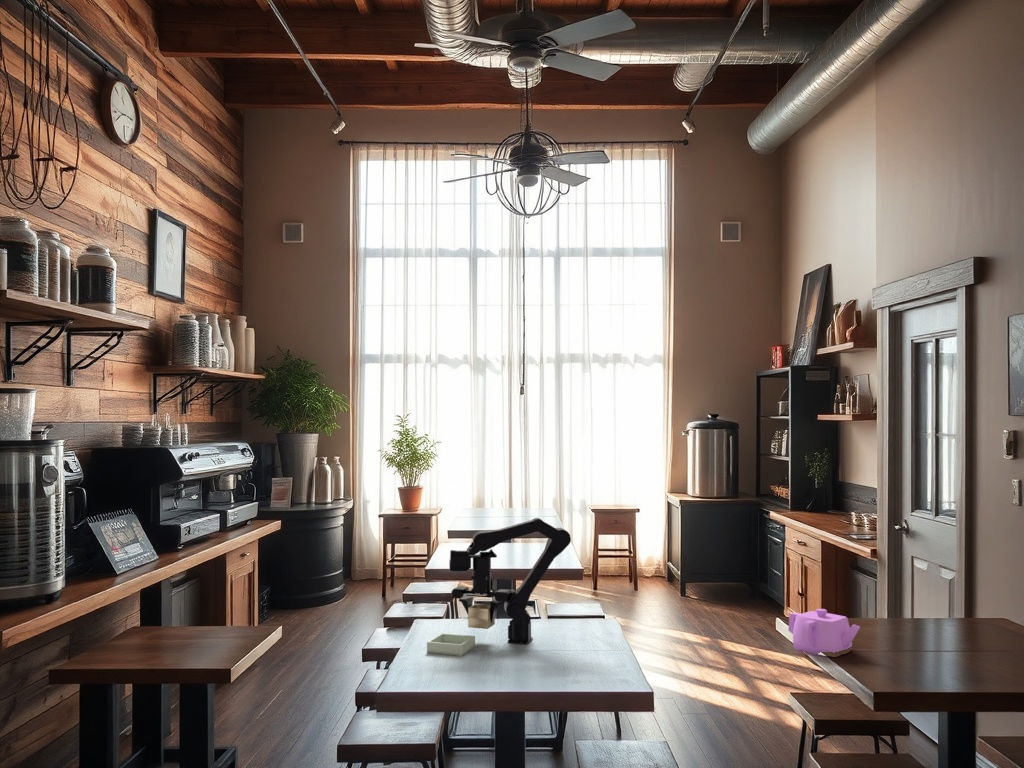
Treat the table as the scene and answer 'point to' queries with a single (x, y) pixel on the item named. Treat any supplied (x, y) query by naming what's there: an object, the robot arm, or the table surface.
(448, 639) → the pale green square tray
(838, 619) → the teakettle
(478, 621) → the small crate
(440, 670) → the table surface
